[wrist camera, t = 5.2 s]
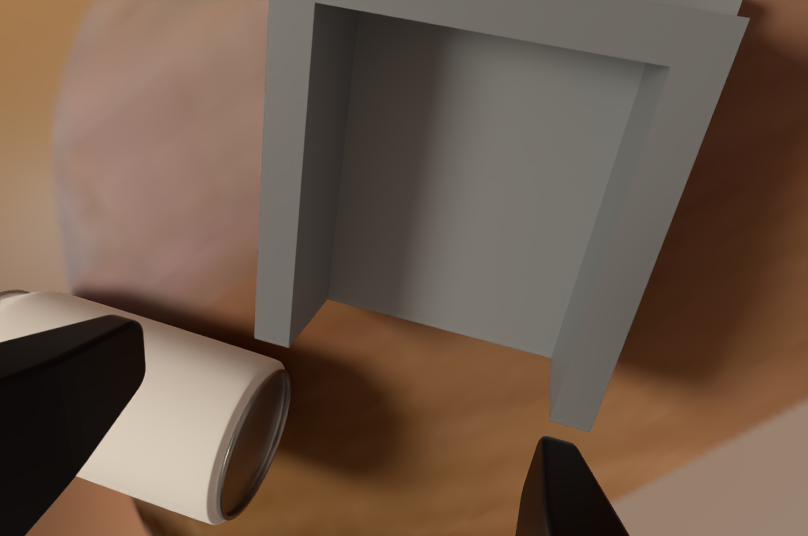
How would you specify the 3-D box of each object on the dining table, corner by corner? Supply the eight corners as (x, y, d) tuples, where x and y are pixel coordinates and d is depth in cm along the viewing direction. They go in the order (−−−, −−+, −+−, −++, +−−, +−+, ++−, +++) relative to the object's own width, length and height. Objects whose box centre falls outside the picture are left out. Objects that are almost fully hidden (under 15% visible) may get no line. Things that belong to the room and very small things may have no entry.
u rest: (600, 356, 21) (610, 438, 17) (293, 276, 23) (237, 333, 19) (734, -5, 16) (793, -9, 12) (320, -72, 17) (249, -95, 13)
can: (224, 426, 18) (-93, 319, 20) (209, 568, 21) (-70, 463, 22) (303, 334, 24) (54, 258, 26) (284, 454, 27) (59, 377, 28)
